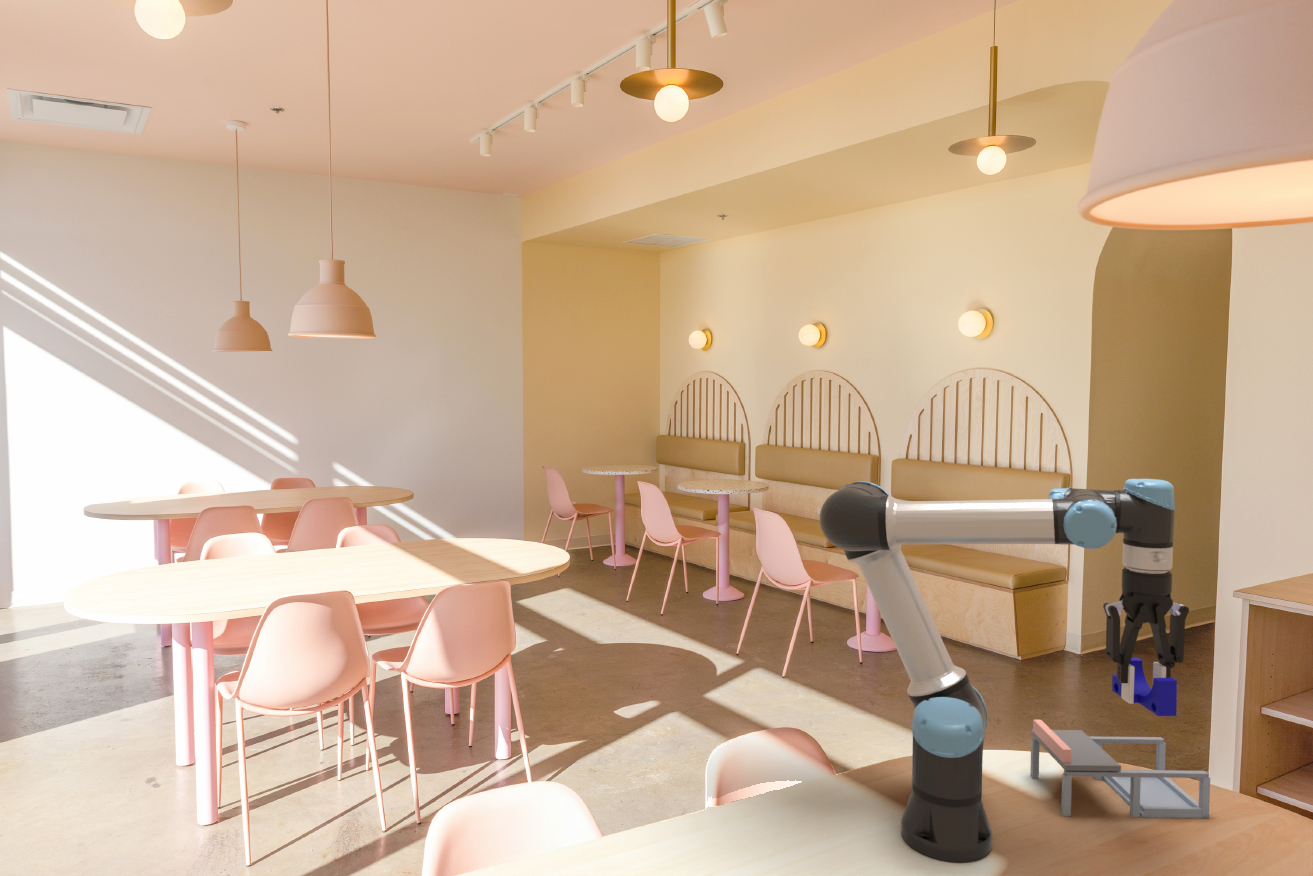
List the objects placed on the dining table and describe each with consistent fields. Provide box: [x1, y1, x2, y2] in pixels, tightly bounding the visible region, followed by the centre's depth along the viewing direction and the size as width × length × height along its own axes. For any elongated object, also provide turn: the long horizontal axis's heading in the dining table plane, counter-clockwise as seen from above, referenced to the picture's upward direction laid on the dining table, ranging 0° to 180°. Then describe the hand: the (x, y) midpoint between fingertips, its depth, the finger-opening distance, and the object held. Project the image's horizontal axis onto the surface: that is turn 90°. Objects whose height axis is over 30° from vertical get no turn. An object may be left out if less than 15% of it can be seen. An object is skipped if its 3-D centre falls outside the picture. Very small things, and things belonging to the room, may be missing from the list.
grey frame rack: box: [1029, 735, 1211, 819], centre depth 164 cm, size 26×16×8 cm, turn 87°
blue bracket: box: [1111, 657, 1178, 717], centre depth 148 cm, size 12×4×6 cm, turn 179°
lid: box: [1030, 719, 1122, 771], centre depth 164 cm, size 10×16×4 cm, turn 177°
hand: (1142, 700), depth 148 cm, fingers closed on blue bracket, 5 cm apart
